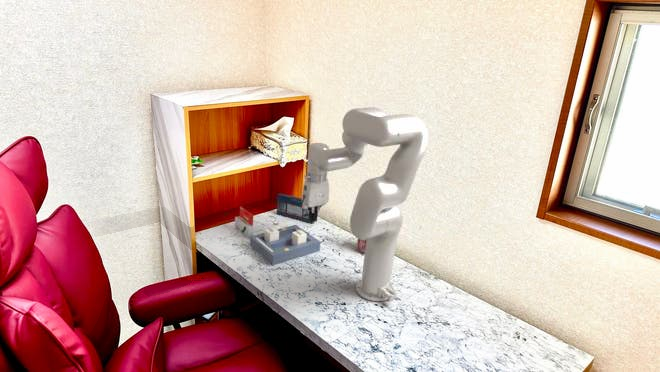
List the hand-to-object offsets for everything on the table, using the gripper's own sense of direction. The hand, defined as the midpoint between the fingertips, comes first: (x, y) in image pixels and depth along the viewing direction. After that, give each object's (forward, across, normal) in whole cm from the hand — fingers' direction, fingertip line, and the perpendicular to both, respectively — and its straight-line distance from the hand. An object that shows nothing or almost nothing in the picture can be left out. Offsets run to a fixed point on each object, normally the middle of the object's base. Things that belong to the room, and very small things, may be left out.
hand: (312, 220), depth 167 cm
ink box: (+12, -18, +22) cm, 31 cm away
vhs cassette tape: (+12, +8, +23) cm, 27 cm away
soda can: (+11, +16, -15) cm, 24 cm away
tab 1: (+9, -14, +6) cm, 18 cm away
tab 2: (+9, -6, -1) cm, 11 cm away
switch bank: (+11, -10, +2) cm, 15 cm away
